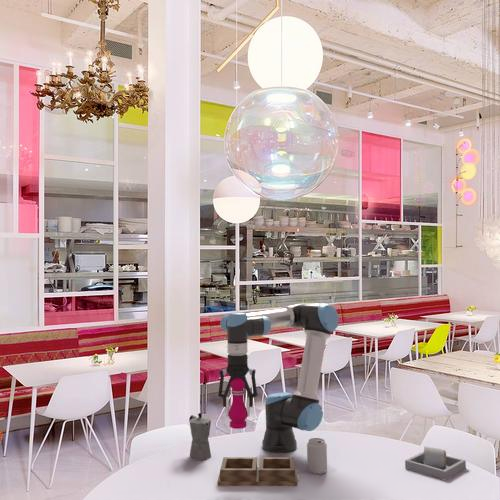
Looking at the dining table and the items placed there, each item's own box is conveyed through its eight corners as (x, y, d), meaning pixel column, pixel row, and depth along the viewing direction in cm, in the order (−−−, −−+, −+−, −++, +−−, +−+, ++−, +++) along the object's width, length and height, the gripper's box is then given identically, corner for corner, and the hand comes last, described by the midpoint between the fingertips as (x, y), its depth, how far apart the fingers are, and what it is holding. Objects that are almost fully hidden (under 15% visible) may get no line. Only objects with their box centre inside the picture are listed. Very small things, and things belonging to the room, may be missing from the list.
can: (323, 476, 197) (323, 444, 198) (304, 473, 200) (304, 441, 201) (329, 469, 204) (328, 438, 204) (311, 466, 207) (310, 435, 208)
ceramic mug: (447, 472, 200) (446, 451, 200) (424, 470, 202) (423, 449, 202) (444, 462, 210) (444, 443, 210) (423, 461, 212) (422, 441, 213)
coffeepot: (218, 458, 217) (217, 414, 218) (198, 463, 212) (197, 418, 213) (199, 448, 230) (199, 407, 231) (180, 453, 225) (180, 410, 225)
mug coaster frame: (426, 457, 215) (426, 450, 215) (465, 468, 203) (465, 460, 203) (405, 468, 204) (405, 460, 204) (445, 480, 192) (445, 471, 192)
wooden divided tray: (296, 471, 202) (295, 456, 203) (297, 486, 188) (297, 470, 189) (221, 471, 204) (221, 456, 204) (217, 486, 190) (217, 470, 190)
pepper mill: (245, 429, 193) (245, 374, 194) (226, 428, 194) (226, 374, 195) (249, 424, 200) (249, 371, 201) (231, 423, 201) (230, 370, 202)
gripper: (209, 355, 195) (210, 418, 194) (263, 355, 194) (264, 418, 193) (212, 352, 202) (212, 412, 201) (264, 352, 201) (264, 412, 200)
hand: (238, 415), depth 197 cm, fingers closed on pepper mill, 7 cm apart
